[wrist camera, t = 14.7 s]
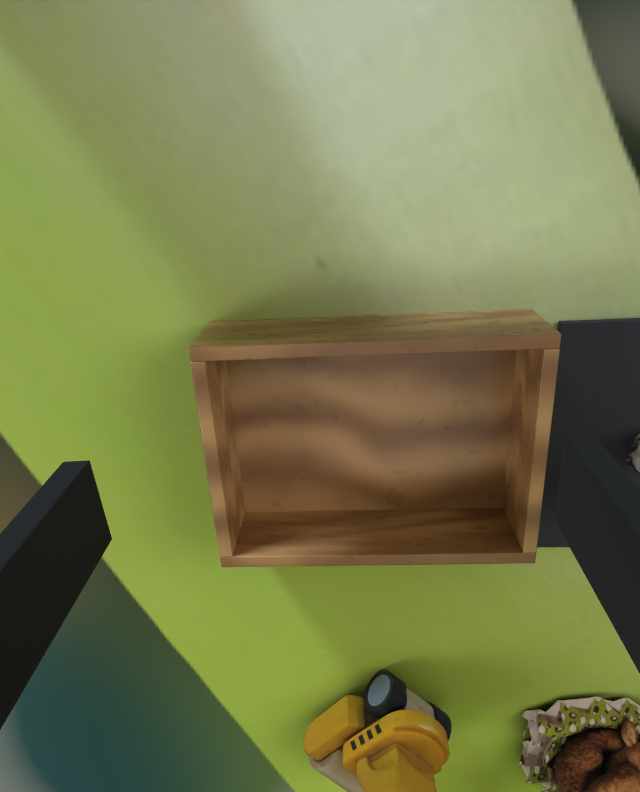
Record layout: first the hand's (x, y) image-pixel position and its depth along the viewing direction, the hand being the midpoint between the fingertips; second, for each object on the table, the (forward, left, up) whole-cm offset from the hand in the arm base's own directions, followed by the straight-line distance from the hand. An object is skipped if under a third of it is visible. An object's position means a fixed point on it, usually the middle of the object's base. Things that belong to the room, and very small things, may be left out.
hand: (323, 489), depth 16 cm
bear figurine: (+48, +24, -28) cm, 61 cm away
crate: (+11, +2, -28) cm, 30 cm away
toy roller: (+44, +2, -28) cm, 53 cm away
